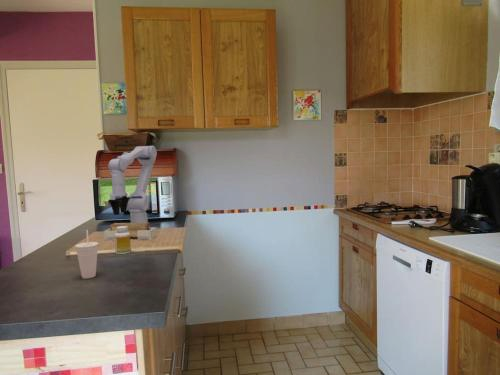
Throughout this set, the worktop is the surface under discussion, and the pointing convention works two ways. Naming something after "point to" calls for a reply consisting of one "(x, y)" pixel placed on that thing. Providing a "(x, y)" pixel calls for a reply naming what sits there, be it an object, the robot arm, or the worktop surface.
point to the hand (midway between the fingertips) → (120, 213)
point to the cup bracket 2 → (146, 234)
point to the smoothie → (87, 257)
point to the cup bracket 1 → (109, 234)
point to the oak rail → (131, 227)
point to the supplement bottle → (122, 240)
